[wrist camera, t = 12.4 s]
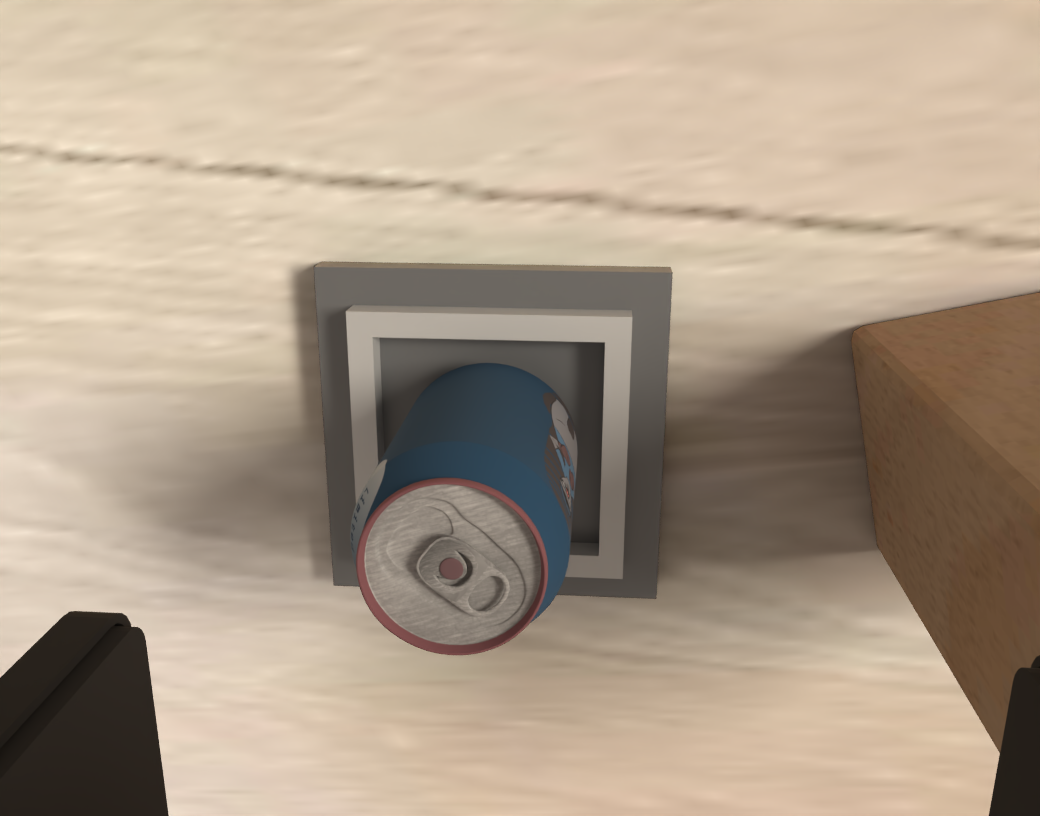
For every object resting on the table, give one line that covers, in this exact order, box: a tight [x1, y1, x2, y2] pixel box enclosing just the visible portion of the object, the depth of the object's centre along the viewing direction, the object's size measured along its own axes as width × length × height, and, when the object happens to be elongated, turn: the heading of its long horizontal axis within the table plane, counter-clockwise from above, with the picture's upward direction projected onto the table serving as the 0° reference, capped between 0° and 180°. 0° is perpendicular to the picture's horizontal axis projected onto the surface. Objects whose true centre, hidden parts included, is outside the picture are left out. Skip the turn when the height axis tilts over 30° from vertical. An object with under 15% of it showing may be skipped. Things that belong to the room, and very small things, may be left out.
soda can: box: [350, 363, 578, 655], centre depth 35 cm, size 7×7×12 cm
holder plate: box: [314, 262, 672, 599], centre depth 41 cm, size 14×14×2 cm
